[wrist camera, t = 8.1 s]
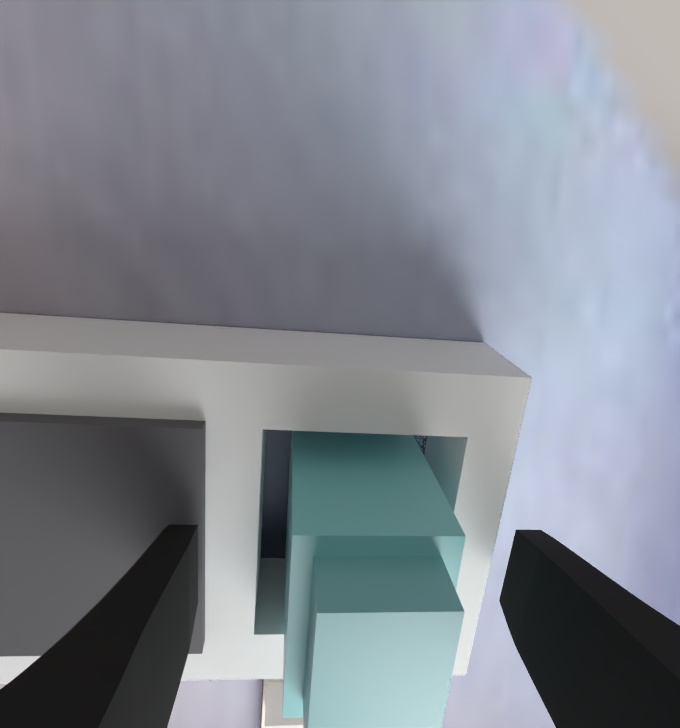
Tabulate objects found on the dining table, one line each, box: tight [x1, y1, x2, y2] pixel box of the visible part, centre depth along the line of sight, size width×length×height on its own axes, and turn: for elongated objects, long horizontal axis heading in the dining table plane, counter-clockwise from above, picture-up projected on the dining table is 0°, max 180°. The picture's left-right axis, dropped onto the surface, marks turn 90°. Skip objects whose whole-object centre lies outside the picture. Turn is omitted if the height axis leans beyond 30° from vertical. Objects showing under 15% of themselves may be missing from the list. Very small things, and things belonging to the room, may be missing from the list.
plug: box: [282, 431, 466, 728], centre depth 11 cm, size 3×4×6 cm
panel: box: [0, 313, 532, 684], centre depth 13 cm, size 13×9×3 cm
